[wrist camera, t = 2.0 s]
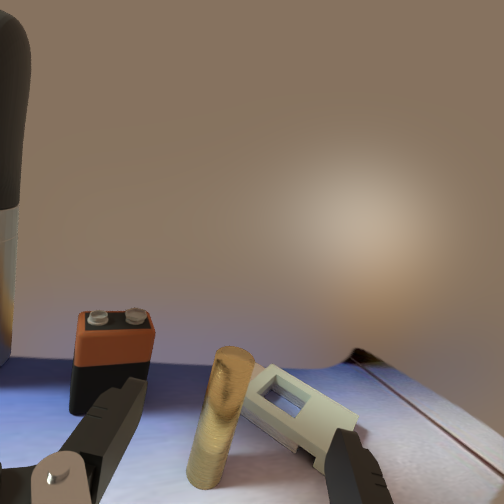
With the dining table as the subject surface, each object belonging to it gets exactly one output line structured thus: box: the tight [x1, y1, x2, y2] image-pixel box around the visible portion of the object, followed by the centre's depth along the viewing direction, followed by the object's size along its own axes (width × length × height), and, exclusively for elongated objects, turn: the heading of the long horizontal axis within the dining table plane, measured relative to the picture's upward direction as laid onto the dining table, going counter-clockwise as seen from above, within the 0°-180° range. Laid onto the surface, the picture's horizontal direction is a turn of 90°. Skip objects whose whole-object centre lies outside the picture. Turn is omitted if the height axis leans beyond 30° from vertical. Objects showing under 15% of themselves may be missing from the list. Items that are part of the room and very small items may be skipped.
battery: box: [69, 308, 155, 414], centre depth 32 cm, size 4×7×10 cm, turn 117°
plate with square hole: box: [243, 364, 359, 475], centre depth 37 cm, size 12×8×2 cm, turn 58°
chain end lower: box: [240, 362, 306, 454], centre depth 39 cm, size 12×8×1 cm, turn 58°
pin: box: [186, 346, 255, 490], centre depth 27 cm, size 3×3×12 cm
